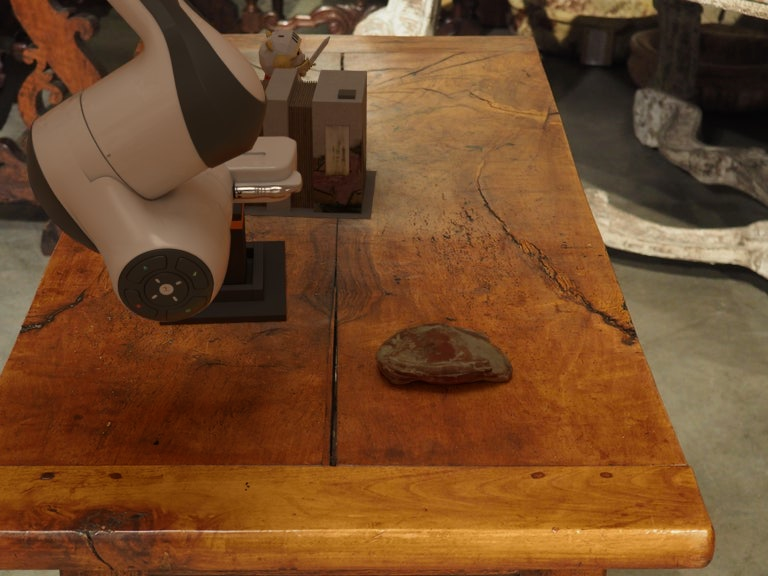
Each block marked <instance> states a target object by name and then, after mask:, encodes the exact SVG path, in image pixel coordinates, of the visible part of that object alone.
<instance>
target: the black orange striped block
mask: <svg viewBox="0 0 768 576" xmlns="http://www.w3.org/2000/svg"><path fill="white" fill-rule="evenodd" d="M245 217H246V215H244V203H233V212H232V221H231V226H230V235H231V242H230V253H229V261H228V266H227V271H226V275H225V278H224V281H223V283H222V285H245V284H246V274H247V252H246V242H247V236H246V220H245V219H246V218H245Z"/></svg>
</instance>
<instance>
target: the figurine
mask: <svg viewBox="0 0 768 576" xmlns="http://www.w3.org/2000/svg"><path fill="white" fill-rule="evenodd" d="M265 36H266V38H265V39H264V40H263V41H262V43H261V44H260V46H259V49H258V61H259V65H260V68H261V71H263V73H264V76H263V80H264V81H265V80H266V81H267V80H268V82H269V80H270V79H271V76H272V74H273V71H274V69H275V68H282V69H298V80H299V82H300V81H301V83H302V81H304V79H302V78H304V77H306V76H307V75H308V74H307V73H308V72H309V70H311V68H313V67H316V66H317V63H316V61H317V59H318V58H319V56H320V55H321V53H322V52H323V51H324V49H325V48H326V47H327V46H328V44H329V41H330V39H331V36H330V35H329V36H327V37H326V38H324V39H323V40H322V42H321V43H320V44H319V46H318V47H317V48H316V50H315V51H314V53H313V54H312V55H311V57H309V56H307V57H306V54H305V53H303V50H302V49H301V44H302V40H303V39H302V38H301V37H300V36H299V35H298V33H297V32H295V30H294V29H277V30H275V31H270V30H267V29H266V33H265Z"/></svg>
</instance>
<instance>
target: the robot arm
mask: <svg viewBox="0 0 768 576" xmlns="http://www.w3.org/2000/svg"><path fill="white" fill-rule="evenodd" d="M106 1H107V2H108V4H110V6H111V7H112V8H113V10H115V11H116V12H117V13H118V15H120V17H121V18H122V19H123V20H124V21H125V22H126V23H127V24H128V25H129V26H130V28H131V29H132V30H133V32H134V33H136V35H137V36H138V37H139V38H140V39H141V40H142V44H143V48H142V50H141V52H140V53H139V54H137V55H136V56H135V57H134V58H132V59H131V60H128V62H125V64H123V65H122V66H120V67H118V68H116V69H115V70H113V71H112V72H110V73H108V74H107V75H106V76H103V77H102V78H101V79H99V80H97V81H96V82H94V83H93V84H91V85H89V86H88V87H83V88H82V89H80V90H79V91H77V92H76V93H74V94H73V95H71V96H70V97H68V98H66V99H65V100H63V101H61V102H60V103H59V104H56V106H54V107H53V108H51V109H48V110H47V111H46V112H45V113H44V114H42V115H40V116H39V117H37V118H35V119H33V121H32V123H31V125H30V127H29V130H28V133H27V138H26V148H25V155H26V156H25V157H26V170H27V179H28V183H29V185H30V189H31V191H32V193H33V195H34V197H35V199H36V201H37V202H38V204H39V206H40V207H41V209H43V211H44V213H45V214H46V215H47V216H48V218H49V219H50V220H51V221H52V222H53V223H54V224H55V225H56V226H57V227H58V228H59V230H61V232H62V233H64V234H65V235H66V236H68V237H69V238H70V239H72V240H73V241H74V242H76V243H77V244H79V245H81V246H83V247H85V248H86V249H89V250H90V251H92V252H94V253H96V254H99V255H100V256H101V258H102V260H103V262H104V264H105V267H106V269H107V272H108V276H109V280H110V283H111V287H112V289H113V291H114V292H113V293H114V294H115V296H116V298H117V299H118V300H119V302H120V303H121V304H122V306H123V307H125V309H126V310H128V311H129V312H130V313H131V314H133V315H135V316H136V317H139V318H141V319H144V320H147V321H153V322H172V321H179V320H183V319H185V318H188V317H190V316H193V315H195V314H197V313H199V312H200V311H202V310H203V309H204V308H206V307H207V306H208V305H209V304H210V303H211V302H212V300H213V299H214V298H215V296H216V295H217V293H218V292H219V290H220V288H221V286H222V283H223V281H224V278H225V275H226V271H227V266H228V261H229V253H230V242H231V235H230V226H231V221H232V212H233V203H263V202H277V201H282V200H284V199H286V198H288V197H289V196H290V195H291V193H293V192H299V191H300V190H301V188H302V177H301V174H300V173H299V172H297V143H296V141H295V140H293V139H291V138H289V137H284V136H278V137H258V136H259V134H260V131H261V128H262V125H263V122H264V118H265V114H266V109H267V102H268V100H267V96H266V93H265V91H264V89H263V86H262V84H261V81H260V80H261V78H260V77H259V75H258V73H257V71H256V69H255V68H254V67H253V65H252V63H251V62H250V61H249V60H248V58H247V57H246V56H245V54H243V53H242V52H241V51H240V49H239V48H238V47H236V46H235V45H234V44H233V43H232V42H231V41H230V40H229V39H228V38H226V37H225V36H224V35H223V34H222V33H221V32H220V31H219V30H218V29H217V28H216V27H215V26H214V25H213V24H212V23H211V22H210V21H209V20H208V19H207V18H206V17H205V16H204V14H202V13H201V12H200V11H199V10H198V9H197V8H196V7H195V6H194V5H193V4H192V2H191V1H189V0H106Z"/></svg>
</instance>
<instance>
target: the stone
mask: <svg viewBox="0 0 768 576" xmlns="http://www.w3.org/2000/svg"><path fill="white" fill-rule="evenodd" d="M375 362H376V364H377V368H378V370H379V372H381V373H382V374H383V376H384V377H385V378H386V379H388V380H389V381H390V383H391V384H395V385H398V386H399V385H401V386H402V385H404V384H409V383H412V382H414V381H415V382H418V381H422V382H426V383H428V384H433V385H434V384H435V385H446V386H447V385H451V386H453V385H458V384H464V383H473V382H475V383H476V382H478V381H489V382H495V383H497V382H498V383H500V382H508V381H510V379H511V377H512V375H513V370H514V369H513V365H512V363H511V361H510V359H509V357H508V356H507V354H506V353H503V352H502V351H501V349H500V348H498V347H497V346H496V345H494V344H492V343H491V340H490V338H489V337H487V336H486V334H484V333H483V332H481V331H477V330H472V329H469V328H466V327H463V326H462V327H461V326H455V325H450V324H448V323H446V322H441V321H437V322H426V323H421V324H416V325H413V326H410V327H405V328H403V329H401V330H400V331H398V332H397V333H395V334H393V335H392V336H390V337H389V338H387V339H386V340H385V341H384V342H382V343H381V345H380V347H379V348H378V349H377V351H376V353H375Z"/></svg>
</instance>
